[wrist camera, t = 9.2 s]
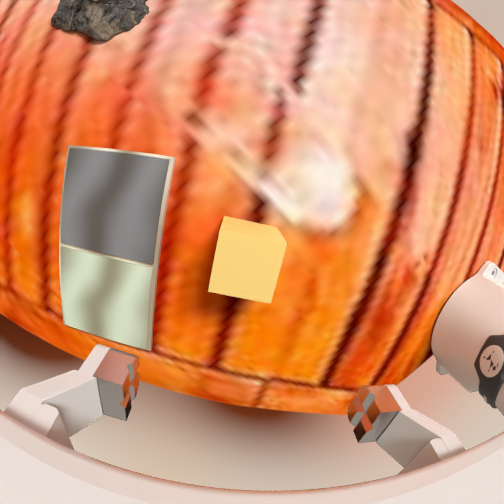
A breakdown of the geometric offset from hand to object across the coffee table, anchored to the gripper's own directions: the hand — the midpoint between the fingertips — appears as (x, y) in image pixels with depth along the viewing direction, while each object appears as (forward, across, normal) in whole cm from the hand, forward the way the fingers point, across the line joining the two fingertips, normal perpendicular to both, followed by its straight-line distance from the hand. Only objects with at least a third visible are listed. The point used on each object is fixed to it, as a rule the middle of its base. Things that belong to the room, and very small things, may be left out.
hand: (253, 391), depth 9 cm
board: (+19, +14, +4) cm, 24 cm away
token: (+19, 0, 0) cm, 19 cm away
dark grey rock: (+19, +23, -28) cm, 41 cm away
